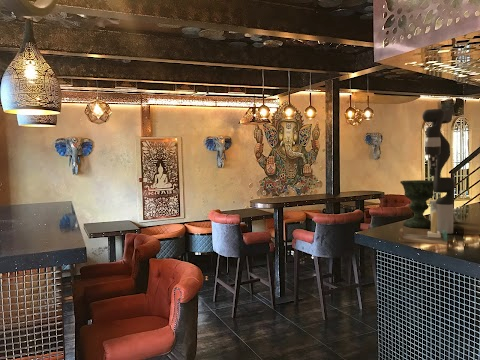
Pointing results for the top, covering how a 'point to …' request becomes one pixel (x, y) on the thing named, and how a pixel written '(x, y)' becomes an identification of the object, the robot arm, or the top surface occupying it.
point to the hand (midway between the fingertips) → (432, 175)
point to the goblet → (418, 201)
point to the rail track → (423, 238)
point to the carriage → (434, 226)
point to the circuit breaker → (432, 207)
